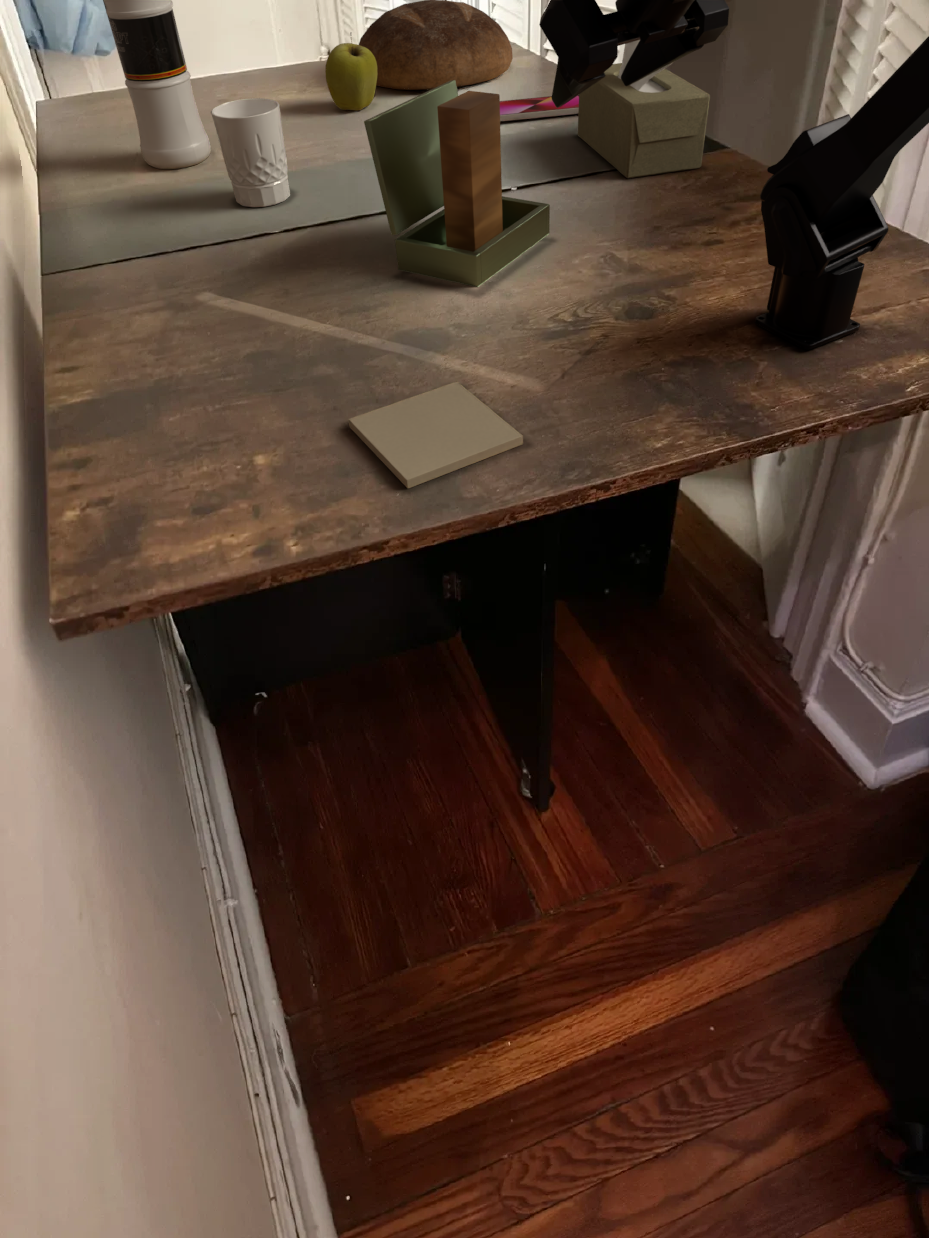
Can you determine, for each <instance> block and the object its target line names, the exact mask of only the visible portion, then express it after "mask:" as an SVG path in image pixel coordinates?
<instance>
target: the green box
mask: <svg viewBox="0 0 929 1238" xmlns="http://www.w3.org/2000/svg"><path fill="white" fill-rule="evenodd" d="M550 207H551V205H550V203H545V202H540V201H534V200H527V199H521V198H516V197H509V196H503V195H502V222H503V232H501V233H500V234H498V235H497V236H495V237H494V238H493V239H491V240H490V241H488V242H487V243H485V244H484V245H483V246H481V247H480V248H478V249H477V250H475V251H474V252H472V251H467V250H462V249H457V248H452V247H447V242H446V228H445V213H444V208H443V209H441V210H440V211H438V212H437V213H435V214H433V215H431V216H430V217H429V218H427V219H425V220H423V221H421V223H419V224H417V225H415V226H414V227H413V228H411V229H409V230H408V231H406V232H404V233H403V234H401V235H400V236H397V238H395V239H394V246H395V251H396V252H395V253H396V254H395V255H396V262H397V269H398V271H402V272H407V273H411V274H416V275H420V276H425V277H429V278H434V279H438V280H443V281H448V282H452V283H457V284H462V285H466V286H470V287H475V288H479V287H480V286H481V285H483V284H484V283H485V282H487V281H488V280H489V279H491V278H492V277H493V276H495V275H496V274H497V273H499V272H500V271H501V270H503V269H504V268H505V267H507V266H508V265H510V264H511V263H513V262H514V261H515V260H516V259H518V258H519V257H520V256H522V255H523V254H524V253H526V252H527V251H529V249H531V248H533V247H534V246H535V245H537V244H538V243H539V242H541V241H542V240H543V239H544V238H546V237H547V236H549V235H550V218H551V217H550V216H551V215H550V213H551V211H550V210H551V208H550Z"/></svg>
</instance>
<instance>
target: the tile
mask: <svg viewBox="0 0 929 1238" xmlns="http://www.w3.org/2000/svg"><path fill="white" fill-rule="evenodd" d="M348 424H349V428H350V429H351V430H352V431H353V432H354V434H355V435H356V436H357V437H358V438H359V439H360V440H361V441H362V442H363V443H364V444H365V445H366V447H368V448H369V450H370V451H372V452H373V454H374V455H375V456H376V457H377V458H378V459H379V460H380V461H381V462H382V463H383V464H384V466H385V467H386V468H388V469H389V471H391V473H392V474H393V475H394V476H395V477H396V478H397V479H398V480H399V481H400V482H401V483H402V484H403V485H404V487H406V489H412V488H414V487H417V486H418V485H421V484H424V483H426V482H429V481H432V480H435V479H437V478H439V477H442V476H445V475H447V474H450V473H452V472H455V471H457V470H461V469H463V468H465V467H468V466H470V465H473V464H475V463H478V462H481V461H483V460H486V459H489V458H492V457H494V456H496V455H498V454H499V455H500V454H502V453H504V452H507V451H509V450H513V449H515V448H517V447H519V446H522V445H523V444H524V436H523V434H521V432H519V431H518V430H516V429H515V427H513V426H512V425H511V424H509V423H508V422H507V421H506V420H504V418H502V417H501V416H499V415H498V414H497V413H496V412H495V411H494V410H492V409H491V408H490V407H489V406H488V405H487V404H485V403H484V402H483V401H482V400H480V399H479V397H477V396H475V395H474V394H473V393H472V392H471V391H470V390H468V389H467V388H465V387H464V386H463V385H462V384H461V383H460V382H459V381H457V380H456V381H454V382H451V383H448V384H445V385H442V386H440V387H437V388H434V389H431V390H428V391H425V392H422V393H420V394H416V395H414V396H411V397H407V398H404V399H402V400H399V401H396V402H394V403H391V404H388V405H385V406H381V407H379V408H376V409H373V410H371V411H368V412H365V413H362V414H358V415H356V416H353V417H350V418H348Z"/></svg>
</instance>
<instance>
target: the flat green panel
mask: <svg viewBox="0 0 929 1238" xmlns="http://www.w3.org/2000/svg"><path fill="white" fill-rule="evenodd" d="M457 96H459V92H458V87H457V86H456V81H455V80H452V81H449V82H446V83H444V84H442V85H440V86H438V87H436V88H434V89H431V90H426V91H425V92H423V93H420V94H419V95H417V96H415V97H412V98H410V99H408V100H406V101H404V102H402V103H400V104H398V105H395V106H394V107H391V108H389V109H387V110H385V111H383V112H381V113H378V114H377V115H374V116H372V117H370V118H368V119H366V120H364V121H363V124H364V128H365V132H366V136H367V141H368V144H369V148H370V153H371V156H372V157H371V158H372V160H373V164H374V170H375V173H376V177H377V181H378V185H379V190H380V194H381V197H382V203H383V206H384V210H385V214H386V218H387V222H388V227H389V230H390V231H389V232H390V235H391V236H398V235H400V233H403V232H404V231H406V230H407V229H409V228H410V227H412V226H414V225H415V224H417V223H419V222H421V221H422V220H423V219H425V218H427V217H428V216H430V215H431V214H433V213H435V212H437V211H438V210H440V209H441V208H444V198H443V183H442V169H441V154H440V139H439V125H438V110H437V106H439V105H441V104H443V103H445V102H447V101H449V100H451V99H453V98H455V97H457Z"/></svg>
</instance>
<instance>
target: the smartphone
mask: <svg viewBox="0 0 929 1238" xmlns="http://www.w3.org/2000/svg"><path fill="white" fill-rule="evenodd" d="M578 112H579V95H578V96H576V97H575V98H573V99H572V100H570V101H569V102H567V103H566V104H564V105H563V106H561V107H558V108H557V107H556V106H555V104H554V103H553V101H552V95H549V96H537V97H528V98H527V97H526V98H519V99H507V100H500V122H509V121H517V120H527V119H529V120H530V119H540V118H549V117H558V116H568V115H578Z"/></svg>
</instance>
